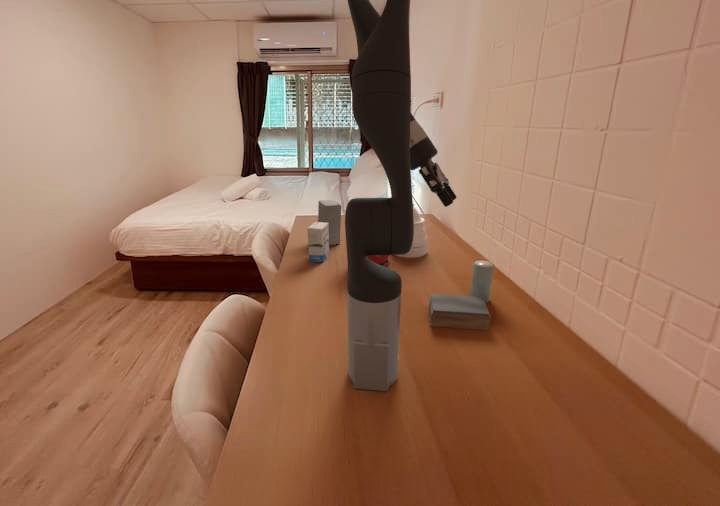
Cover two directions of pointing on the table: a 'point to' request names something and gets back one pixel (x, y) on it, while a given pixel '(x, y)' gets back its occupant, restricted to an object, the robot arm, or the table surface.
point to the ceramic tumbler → (482, 279)
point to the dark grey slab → (458, 312)
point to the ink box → (318, 242)
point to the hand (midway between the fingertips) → (451, 202)
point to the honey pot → (417, 237)
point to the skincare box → (331, 219)
